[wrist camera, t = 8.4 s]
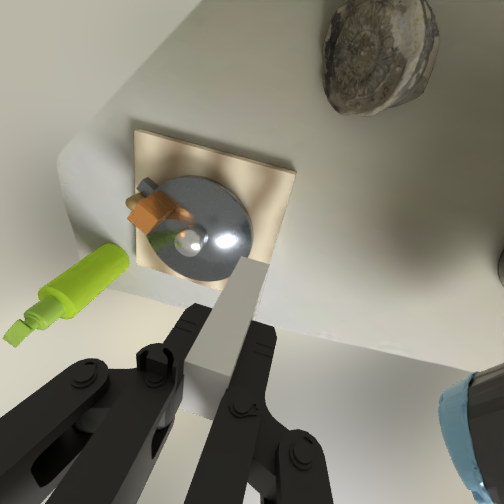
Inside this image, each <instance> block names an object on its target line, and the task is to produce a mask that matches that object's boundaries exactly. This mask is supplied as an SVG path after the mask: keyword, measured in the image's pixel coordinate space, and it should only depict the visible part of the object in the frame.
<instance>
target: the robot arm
mask: <svg viewBox="0 0 504 504" xmlns="http://www.w3.org/2000/svg"><path fill="white" fill-rule="evenodd" d="M269 265H270V264H267V263H264V262H260V261H257V260H253V259H250V258H246V257H243V256H241V258H240V259H239V261H238V263H237V265H236V267H235V269H234V270H233V272H232V274H231V276H230V278H229V280H228V282H227V283H226V285H225V287H224V289H223V291H222V293H221V294H220V296H219V298H218V300H217V302H216V304H215V305H214V307H213V308H209V307H206V306H203V305H200V304H197V303H194V304H193V305H191V306H190V307H188V308H187V309H185V311H184V312H183V314H182V315H181V317H180V319H179V320H178V321H177V323H176V324H175V326H174V328H173V329H172V330H171V332H170V334H169V335H168V336H167V338H166V339H165V341H164V343H163V344H162V343H155V344H150V345H148V346H146V347H144V348H142V349H141V350H140V351H139V352H138V353H137V354H136V360H137V368H133V369H108V366H107V365H106V364H105V363H104V361H101V360H99V359H93V358H91V359H90V358H88V359H84V360H80V361H78V362H76V363H74V364H72V365H71V366H69V367H68V368H67V369H65V370H64V371H63V372H61V373H60V374H58V375H57V376H56V377H54V378H53V379H52V380H50V381H49V382H48V383H46V384H45V385H44V386H42V387H41V388H40V389H39V390H37V391H36V392H35V393H33V394H32V395H30V396H29V397H28V398H26V399H25V400H24V401H22V402H21V403H20V404H18V405H17V406H16V407H14V408H13V409H12V410H10V411H9V412H8V413H6V414H5V415H4V416H2V417H1V418H0V504H41V503H42V502H43V500H44V499H45V498H46V497H47V496H48V495H49V494H50V493H51V492H52V491H53V490H54V489H55V488H56V489H55V490H54V491H53V493H52V494H51V496H50V497H49V499H48V500H47V502H46V503H45V504H136V503H137V501H138V499H139V497H140V495H141V493H142V491H143V489H144V486H145V484H146V482H147V480H148V478H149V475H150V474H151V471H152V469H153V467H154V465H155V463H156V461H157V459H158V457H159V454H160V452H161V450H162V448H163V446H164V444H165V442H166V440H167V437H168V435H169V433H170V431H171V429H172V427H173V423H174V419H175V414H176V412H177V410H178V407H179V405H180V403H181V409H182V410H185V411H188V412H191V413H193V414H196V415H199V416H202V417H205V418H207V419H210V420H213V423H212V426H211V429H210V432H209V434H208V437H207V440H206V443H205V446H204V448H203V451H202V454H201V457H200V460H199V463H198V465H197V468H196V471H195V473H194V476H193V479H192V482H191V485H190V487H189V490H188V493H187V496H186V499H185V501H184V504H243V499H244V494H245V490H246V485H247V482H248V483H249V484H250V485H251V486H252V487H253V488H255V490H257V491H258V492H259V493H260V499H261V500H260V501H261V502H260V503H261V504H333V498H332V493H331V488H330V482H329V477H328V471H327V466H326V461H325V456H324V453H323V450H322V447H321V445H320V444H319V443H318V442H317V440H316V439H315V437H313V436H312V435H311V434H309V433H308V432H306V431H303V430H300V429H296V430H290V431H289V430H288V429H287V428H286V427H284V426H283V425H282V424H280V423H279V422H278V421H277V420H276V419H275V418H274V417H272V415H271V414H270V412H269V411H268V408H267V406H266V403H265V391H266V386H267V382H268V377H269V372H270V368H271V363H272V358H273V354H274V349H275V345H276V340H277V336H276V332H275V328H274V327H272V326H269V325H266V324H263V323H260V322H256V321H254V319H255V316H256V313H257V310H258V307H259V304H260V300H261V296H262V292H263V289H264V285H265V281H266V277H267V273H268V269H269ZM498 271H499V277H500V280H501V282H502V284H503V286H504V251H503V253H502V255H501V258H500V261H499V268H498ZM438 412H439V421H440V426H441V431H442V435H443V438H444V441H445V444H446V447H447V449H448V452H449V455H450V457H451V459H452V461H453V464H454V466H455V468H456V470H457V472H458V474H459V476H460V477H461V479H462V481H463V483H464V484H465V486H466V487H467V489H469V490H471V491H472V493H473V497H474V499H475V501H476V502H477V503H478V504H504V363H502V364H500V365H497V366H495V367H492V368H490V369H487V370H485V371H482V372H474V373H472V374H470V375H469V376H468V378H466V379H464V380H461V381H459V382H457V383H455V384H453V385H451V386H449V387H448V388H446V389H445V390H444V391H443V393H442V394H441V397H440V401H439V410H438Z"/></svg>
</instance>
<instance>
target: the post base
mask: <svg viewBox="0 0 504 504" xmlns="http://www.w3.org/2000/svg"><path fill="white" fill-rule="evenodd" d="M134 157H135V195H133V196H132V197H130V198H128V199H126V206H127V207H128V208H129V209H131V210H133V209H134V208H135V206H136V205H137V204H138V203H139V202H140V201H142V200H144V199H145V198H146V197H145V196H144V195H142V194H141V193H140V192H139V191H138V190H137V189H136V188H137V187H138V185H139V184H140V182H141V181H142V179H144V178H146V177H149V178H150V179H151V180H153V181H154V182H155V183H156V184H157V185H158V186H161V185H162V184H164V183H166V182H167V181H169V180H171V179H173V178H176V177H180V176H184V175H197V176H203V177H207V178H210V179H213V180H215V181H217V182H219V183H221V184H223V185H224V186H226V187H227V188H228V189H230V190H231V191H232V192H233V193H234V194H235V195H236V196H237V197H238V198H239V199H240V200H241V202H242V203H243V205H244V206H245V208H246V210H247V211H248V213H249V216H250V218H251V221H252V225H253V232H254V240H253V246H252V249H251V252H250V254H249V257H248V258H250V259H253V260H257V261H260V262H264V263H267V264H270V261H271V257H272V254H273V250H274V247H275V244H276V240H277V237H278V234H279V230H280V227H281V223H282V220H283V217H284V213H285V210H286V206H287V203H288V200H289V196H290V193H291V190H292V186H293V183H294V179H295V176H296V173H297V172H295V171H292V170H288V169H284V168H281V167H277V166H273V165H270V164H266V163H262V162H259V161H255V160H251V159H248V158H244V157H241V156H237V155H233V154H230V153H226V152H222V151H219V150H215V149H211V148H208V147H204V146H201V145H197V144H193V143H190V142H186V141H182V140H179V139H175V138H171V137H168V136H164V135H160V134H157V133H153V132H150V131H146V130H142V129H138V130H134ZM136 258H137V264H138V265H141V266H144V267H147V268H151V269H154V270H157V271H160V272H163V273H166V274H169V275H173V276H176V277H179V278H182V279H185V280H188V281H191V282H194V283H198V284H201V285H204V286H207V287H210V288H213V289H216V290H220V291H223V289H224V287H225V285H226V283H227V282H228V280H229V278H230V277H229V278H226V279H223V280H219V281H212V282H206V281H198V280H194V279H190V278H187V277H185V276H183V275H181V274H179V273H177V272H175V271H174V270H172V269H171V268H170V267H168V266H167V265H166V264H165V263H164V262H163V261H162V260H161V259H160V258H159V257H158V256H157V254H156V253H155V252H154V250H153V249H152V247H151V245H150V243H149V241H148V239H147V236H146V235H145V234H144V233H143V232H142V231H141V230H140V229H138V228H137V227H136Z"/></svg>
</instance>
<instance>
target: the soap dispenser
mask: <svg viewBox="0 0 504 504" xmlns="http://www.w3.org/2000/svg"><path fill="white" fill-rule="evenodd" d="M128 267H129V258H128V256H127V254H126V253H125V251H124V250H123V249H122V248H120V247H119V246H117V245H115V244H111V243H106V244H104V245H102V246H101V247H99V248H98V249H96V250H95V251H94V252H92V253H91V254H89V255H88V256H86V257H85V258H84V259H82V260H81V261H79V262H78V263H76V264H75V265H74V266H72V267H71V268H69V269H68V270H66V271H65V272H64V273H62V274H61V275H59V276H58V277H57V278H55V279H54V280H52V281H51V282H49V283H48V284H47V285H45V286H44V287H42V288H41V289H40V290H39V292H38V296H39V300H40V301H39V302H38V303H36V304H35V305H34V306H32V307H31V308H29V309H28V310H27V311H26V312H25V313H24V318H25V321H22V320H21V319H19V320H17V321H16V322H15V323H14V325H12V327H11V328H10V329H9V330H8V331H7V332H6V334H5V335H4V337H3V339H4V340H5V341H7V342H8V343H9V344H11V345H12V346H14V347H17V346H18V345H19V344H20V343H21V342H22V341H23V340H24V338H25V337H27V336H28V335H29V334H30V333H31V332H33V331H34V330H35V329H38V330H45V329H46V328H47V327H49V326H50V325H51V324H52V323H54V322H55V321H56V320H57V319H58V318H62V319H71V318H73V317H74V316H75V315H76V314H78V313H79V312H80V311H81V310H82V309H83V308H84V307H85V306H86V305H87V304H89V303H90V302H91V301H92V300H93V299H94V298H95V297H96V296H97V295H99V294H100V292H102V291H103V290H104V289H105V288H106V287H107V286H108V285H110V284H111V283H112V282H113V281H114V280H115V279H116V278H117V277H118V276H120V275H121V274H122V273H123V272H124V271H125V270H126V269H127V268H128Z"/></svg>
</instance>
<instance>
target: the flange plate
mask: <svg viewBox="0 0 504 504" xmlns="http://www.w3.org/2000/svg"><path fill="white" fill-rule="evenodd" d="M136 189H137V190H138V191H139V192H140V193H141V194H142V195H144V196H145V197H146V198H145V199H144V200H142V201H140V202H139V203H138V204H137V205H136V206H135V208H134V209H133V211H132V212H131V214H130V215H129V217H128V218H127V219H128V220H129V221H130V222H131V223H133V224H134V225H135V226H136V227H137V228H138V229H140V230H141V231H142V232H143V233H144V234H145V235H146V236H147V239H148V241H149V243H150V245H151V247H152V249H153V250H154V252H155V253H156V254H157V256H158V257H159V258H160V259H161V260H162V261H163V262H164V263H165V264H166V265H167V266H168V267H170V268H171V269H172V270H174V271H175V272H177V273H179V274H181V275H183V276H185V277H187V278H190V279H194V280H198V281H206V282H212V281H219V280H223V279H226V278H229V277H230V276H231V274H232V272H233V270H234V269H235V267H236V265H237V263H238V261H239V259H240V258H241V256H243V257H246V258H248V257H249V254H250V252H251V249H252V246H253V240H254V232H253V225H252V221H251V218H250V216H249V213H248V211H247V210H246V208H245V206H244V205H243V203H242V202H241V200H240V199H239V198H238V197H237V196H236V195H235V194H234V193H233V192H232V191H231V190H230V189H228V188H227V187H226V186H224V185H223V184H221V183H219V182H217V181H215V180H213V179H210V178H207V177H203V176H197V175H184V176H180V177H176V178H173V179H171V180H169V181H167V182H166V183H164V184H162V185H161V186H158V185H157V184H156V183H155V182H154V181H153V180H151V179H150V178H149V177H146V178H144V179H142V181H141V182H140V184H139V185H138V187H137V188H136Z"/></svg>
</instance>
